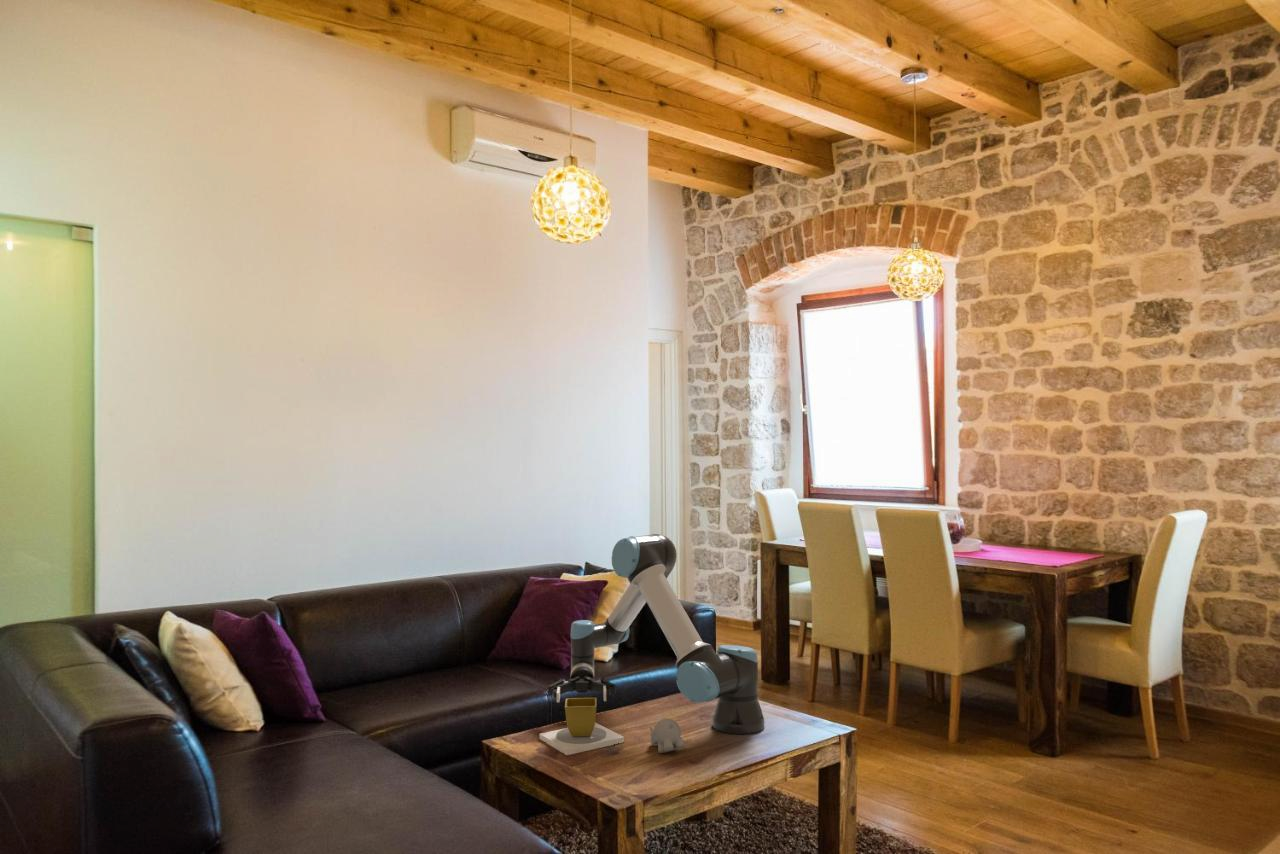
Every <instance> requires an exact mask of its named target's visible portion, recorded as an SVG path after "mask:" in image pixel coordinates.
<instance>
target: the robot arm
mask: <svg viewBox="0 0 1280 854" xmlns="http://www.w3.org/2000/svg"><path fill="white" fill-rule="evenodd" d="M611 552H612V553H611V566H612V568H613V571H614V573H615V574H616V575H617V577H621V578H627V580H628V582H629V585H628V586H627V589H626V590H625V592H624V593H623V595H622V596H621V598H620V599H619V600H618V602H617V603H616V605H615V606H614V608H613V609H612V611H611V613H610V614H609V616H608V617H607V618H606V619H605V621H604V622H601V623H597V624H595V623H594V622H593V621H592V620H588V619H579V620H575V621H573V622H572V623H571V626H570V651H571V654H570V676H569V677H570V678H569V679H568V680H567V681H566V680H565V679H564V678H560V679H559V680H558V681H555V682H553V683H551V684H550V685H548V686H547V695H548V696H553V698H554V699H556V703H560V701H561V700H560V699H561V695H563V694H565V693H568V692H571V693H574V692H576V693H579V694H585V693H588V692H598V693H601V694H603V702H607V696H608V697H610V696H611V694H613V695H614V694H616V693H617V690H616V688H617V686H616V684H615V683H613V682H611V681H610V680H607V679H606V678H605V677H600V678H599V679H598V680H596V678H595V670H596V669H595V649H599V648H603V647H607V646H612V645H613V646H614V645H619V644H621V643H623V642H626V641H627V640H628V639H629V636H630V632H631V631H630V626H631V625H632V623H633V622H634V620H635V619H636V618H637V616H638V614H640V611H641V610H642V609H643V607H644V606H645V605H646V604H647V605H648V608H649V610H650V611H651V612H652V614H653V617H654V618H655V620H656V622H657V624H658V626H659V627H660V629H661V630H662V632H663V634H664V636H665V638H666V640H667V642H668V644H669V645H670V647H671V649H672V650H673V652H674V654H675V656H676V662H675V667H676V669H677V670H676V672H675V677H676V678H677V679H676V680H675V681H676V686H677V687H678V689H679V691H680V693H681V694H682V695H683V697H684V698H686V699H687V700H688V701H691V702H692V703H697V704H700V703H701V704H702V703H706V702H707V703H708V702H712V701H714V700H716V699H717V701H716V705H715V708H714V714H713V715H712V719H711V720H712V722H711V723H712V728H714V729H715V730H716V731H719V732H722V733H727V734H731V735H732V734H734V735H744V734H746V735H747V734H754V733H758V732H760V731H762V730H764V728H765V717H764V713H763V712H762V708H761V704H760V702H759V679H758V678H759V673H758V672H759V671H758V669H759V667H758V666H759V661H758V652H757V651H756V650H755V649H754V648H751V647H750V646H749V647H748V646H743V645H735V644H734V645H733V644H721V645H719V646H717V650H716V651H715V650H714V647H713V646H712V645H711V644H710V643H707V642H704V641H703V639H702V638H701V636H700V634H699V633H698V631H697V629H696V627H695V626H694V624H693V622H692V620H691V618H690V617H689V615H688V613H687V612H686V611H685V609H684V607H683V605H682V603H681V602H680V600H679V597H678V596H677V595H676V592H675V591H674V590H673V587H672V586H671V584H670V582H669V580H668V577H669V576H670V574H671V573H672V572H673V570H674V567H675V565H676V563H677V558H678V557H677V553H678V552H677V549H676V546H675V544H674V543H673V541H672V540H670V538H669V537H667V536H666V535H663V534H659V533H655V534H654V533H653V534H648V535H647V534H646V535H640V536H638V535H637V536H629V537H624V538H621V539H619V540H618V541H617V542H616V543H615V545H614V546H613V549H612V551H611Z"/></svg>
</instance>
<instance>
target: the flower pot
mask: <svg viewBox="0 0 1280 854" xmlns="http://www.w3.org/2000/svg"><path fill="white" fill-rule="evenodd" d="M597 700H598V699H597V697H574V698H573V697H569V698H565V703H564V710H565V711H564V712H565V721H566V725H567V727H566V728H568V729H569V732H570V734H571V735H572V736H573V737H579V736H591V734H592V732H593V729H594V726H595V722H596V719H597V717H596V716H597Z"/></svg>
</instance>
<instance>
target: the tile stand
mask: <svg viewBox="0 0 1280 854" xmlns="http://www.w3.org/2000/svg"><path fill="white" fill-rule="evenodd" d="M539 740H541V741H542V742H544V743H545V742H546V743H545V744H547V745H549V746H550V747H551V748H553V749H555V750H557V751H558V752H560V753H562V754H563V753H564V754H563V755H566V756H569V755H574V754H578V753H583V752H586V751H591V750H596V749H600V748H605V747H611V746H615V745H619V744H624V743H625V736H623V735H621V734H619V733H617V732H615V731H614V730H611V729H609V728H607V727H605V726H604V725H601V724H599V723H597V722H596V721H595V726H594V729H593V732H592V734H591V736H579V737H573V736H572V735H571V734H570V732H569V729H568V727H566V728H565V727H564V728H561V729H556V730H551V731H546V732H541V733H539ZM623 742H624V743H623ZM618 743H619V744H618ZM614 744H615V745H614Z"/></svg>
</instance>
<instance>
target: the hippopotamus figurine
mask: <svg viewBox="0 0 1280 854" xmlns="http://www.w3.org/2000/svg"><path fill="white" fill-rule="evenodd" d="M649 729H650V745H651V746H653V747H657V752H658V753H659V754H665V753H668V752H674V751H677V750H678V749H679V750H680V749H683V748H684V747H685V743H684V739H683V738H682V737H681V734H682V733H681V732H682V731H681V727H680V724H679V723H678V722H677V721H675V720H674V719H672V718H666V717H665V718H662V719H660V720H659V721H658V722H657V723H656V724H655V726H654V727H653V726H649Z"/></svg>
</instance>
